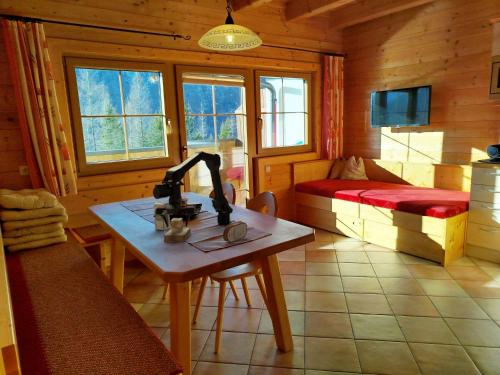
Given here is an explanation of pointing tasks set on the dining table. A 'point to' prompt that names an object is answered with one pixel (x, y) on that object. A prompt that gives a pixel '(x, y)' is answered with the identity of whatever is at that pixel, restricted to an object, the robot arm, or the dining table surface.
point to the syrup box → (159, 220)
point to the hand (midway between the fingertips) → (177, 226)
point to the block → (177, 225)
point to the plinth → (177, 236)
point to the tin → (235, 231)
